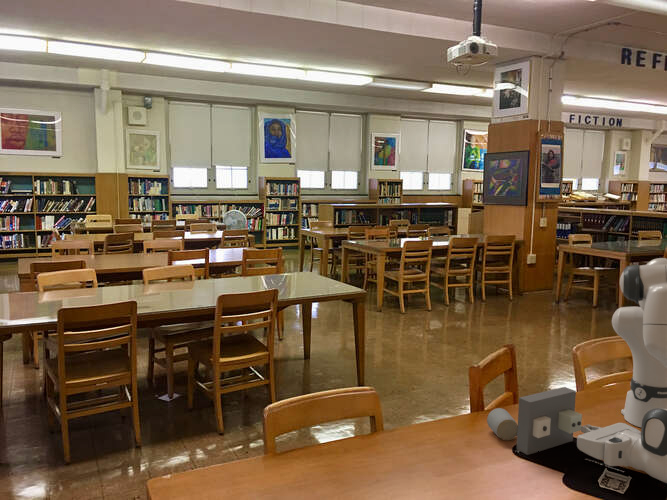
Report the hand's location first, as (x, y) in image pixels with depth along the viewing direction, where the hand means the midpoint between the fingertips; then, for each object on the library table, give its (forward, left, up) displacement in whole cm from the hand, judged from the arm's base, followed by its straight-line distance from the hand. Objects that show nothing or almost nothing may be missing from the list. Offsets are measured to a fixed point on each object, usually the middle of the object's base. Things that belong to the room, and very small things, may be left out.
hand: (584, 427), depth 153 cm
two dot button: (0, -5, -2) cm, 5 cm away
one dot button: (+11, -7, -2) cm, 13 cm away
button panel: (+6, -9, -8) cm, 13 cm away
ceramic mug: (+11, -19, -8) cm, 23 cm away
